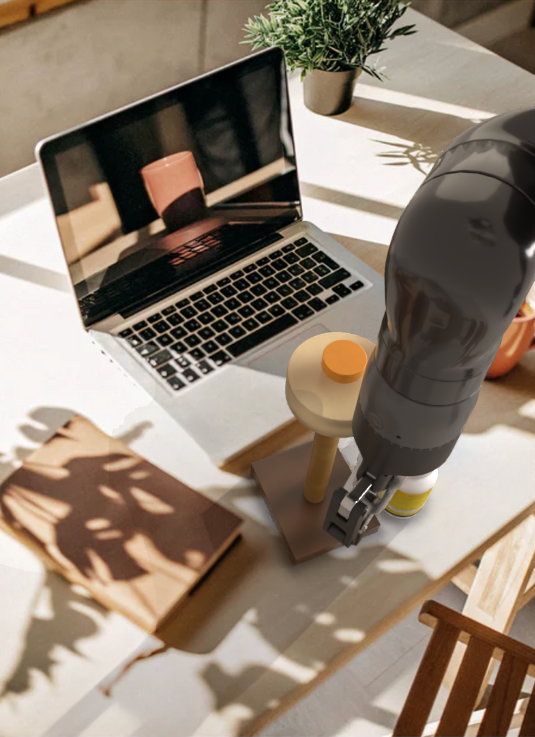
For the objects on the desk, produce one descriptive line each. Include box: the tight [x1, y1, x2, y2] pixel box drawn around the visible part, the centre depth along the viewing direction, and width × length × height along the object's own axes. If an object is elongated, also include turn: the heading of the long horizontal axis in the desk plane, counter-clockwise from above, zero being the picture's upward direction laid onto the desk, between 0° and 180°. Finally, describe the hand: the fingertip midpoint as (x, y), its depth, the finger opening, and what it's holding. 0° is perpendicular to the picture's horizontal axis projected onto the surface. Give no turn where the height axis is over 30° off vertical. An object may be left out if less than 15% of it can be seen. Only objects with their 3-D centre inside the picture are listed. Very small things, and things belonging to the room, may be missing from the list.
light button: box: [321, 340, 367, 384], centre depth 58 cm, size 4×4×1 cm
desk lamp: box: [250, 331, 381, 567], centre depth 70 cm, size 12×10×25 cm
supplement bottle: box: [375, 468, 439, 520], centre depth 77 cm, size 5×5×10 cm
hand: (376, 500), depth 62 cm, fingers open, 8 cm apart
